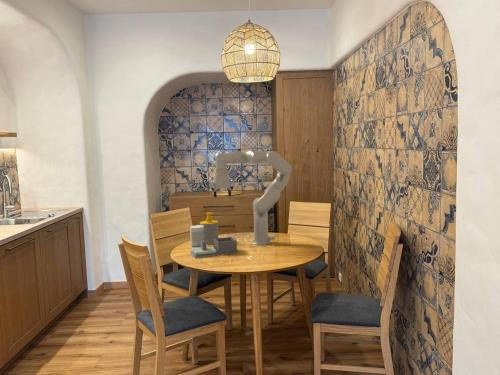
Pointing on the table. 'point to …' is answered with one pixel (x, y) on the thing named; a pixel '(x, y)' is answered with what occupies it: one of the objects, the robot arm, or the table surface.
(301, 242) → the table surface
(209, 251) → the lid
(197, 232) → the supplement tub
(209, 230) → the soap bottle
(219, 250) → the parts tub
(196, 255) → the mat
